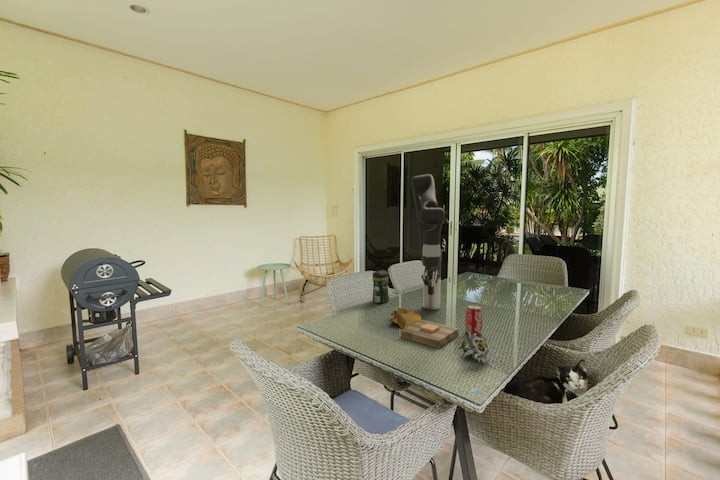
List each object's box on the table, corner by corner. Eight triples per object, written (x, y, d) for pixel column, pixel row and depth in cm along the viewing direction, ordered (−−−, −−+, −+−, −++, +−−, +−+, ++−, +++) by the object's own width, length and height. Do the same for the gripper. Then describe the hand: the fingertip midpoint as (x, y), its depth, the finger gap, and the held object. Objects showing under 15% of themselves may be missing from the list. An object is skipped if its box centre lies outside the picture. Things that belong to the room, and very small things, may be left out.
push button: (427, 330, 152) (427, 323, 152) (439, 334, 149) (439, 326, 148) (420, 334, 148) (420, 327, 148) (432, 338, 144) (432, 330, 144)
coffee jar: (380, 298, 208) (380, 268, 206) (390, 301, 203) (390, 270, 201) (370, 302, 201) (370, 271, 199) (380, 304, 196) (380, 272, 194)
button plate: (422, 325, 161) (422, 319, 161) (458, 335, 149) (458, 328, 149) (401, 337, 147) (401, 330, 147) (438, 348, 136) (438, 341, 135)
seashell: (426, 312, 168) (417, 316, 155) (423, 327, 168) (414, 332, 155) (395, 304, 175) (384, 307, 162) (392, 318, 175) (381, 322, 162)
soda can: (483, 331, 153) (484, 306, 152) (479, 337, 147) (480, 310, 146) (467, 329, 157) (467, 303, 156) (463, 334, 151) (464, 307, 150)
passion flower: (481, 376, 124) (481, 359, 117) (453, 363, 130) (452, 346, 123) (492, 352, 130) (493, 334, 123) (465, 340, 136) (464, 322, 129)
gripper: (431, 252, 152) (430, 290, 154) (415, 255, 142) (415, 296, 144) (446, 253, 147) (445, 292, 149) (431, 257, 137) (431, 299, 139)
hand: (430, 294), depth 146 cm, fingers closed
